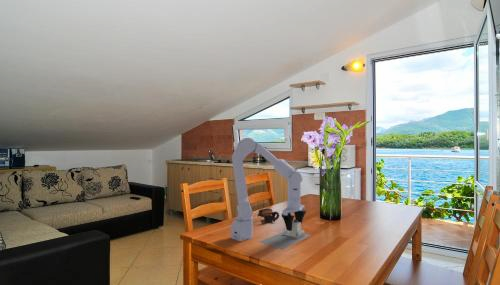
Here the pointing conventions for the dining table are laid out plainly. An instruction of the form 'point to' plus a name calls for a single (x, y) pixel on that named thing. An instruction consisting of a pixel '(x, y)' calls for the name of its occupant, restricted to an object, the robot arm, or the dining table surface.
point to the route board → (282, 240)
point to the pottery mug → (268, 216)
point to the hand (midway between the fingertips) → (293, 228)
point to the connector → (295, 227)
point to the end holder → (298, 235)
